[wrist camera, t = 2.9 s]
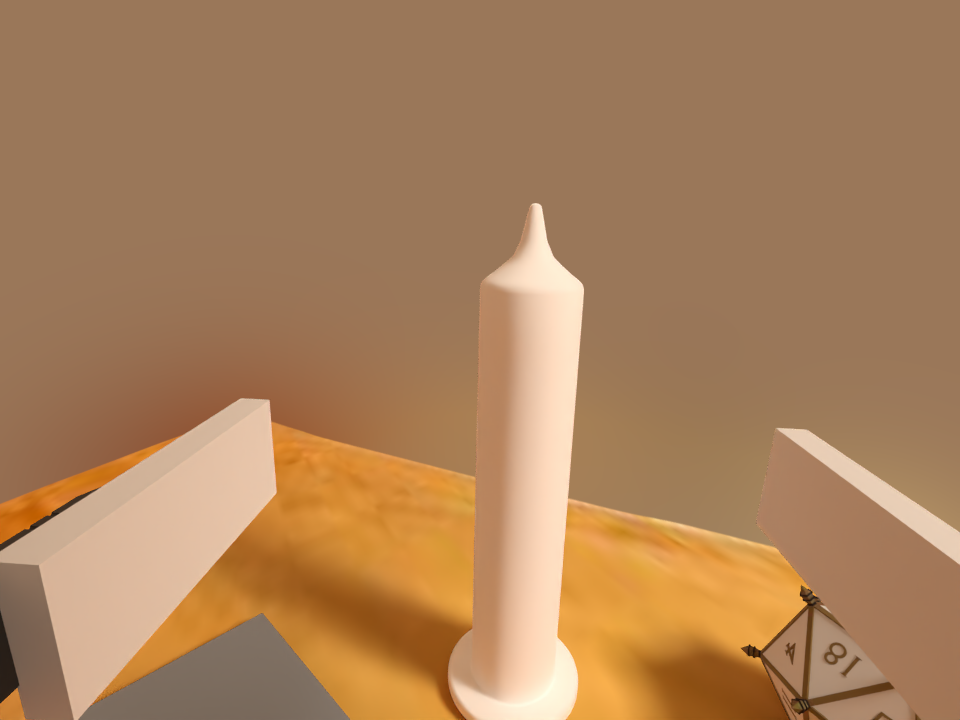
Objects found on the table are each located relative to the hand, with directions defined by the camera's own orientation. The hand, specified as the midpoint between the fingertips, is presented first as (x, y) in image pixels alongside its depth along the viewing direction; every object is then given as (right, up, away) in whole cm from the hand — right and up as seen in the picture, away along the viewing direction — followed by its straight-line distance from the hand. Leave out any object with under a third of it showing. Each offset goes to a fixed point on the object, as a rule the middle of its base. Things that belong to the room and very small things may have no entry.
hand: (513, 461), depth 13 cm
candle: (+1, -15, +14) cm, 21 cm away
